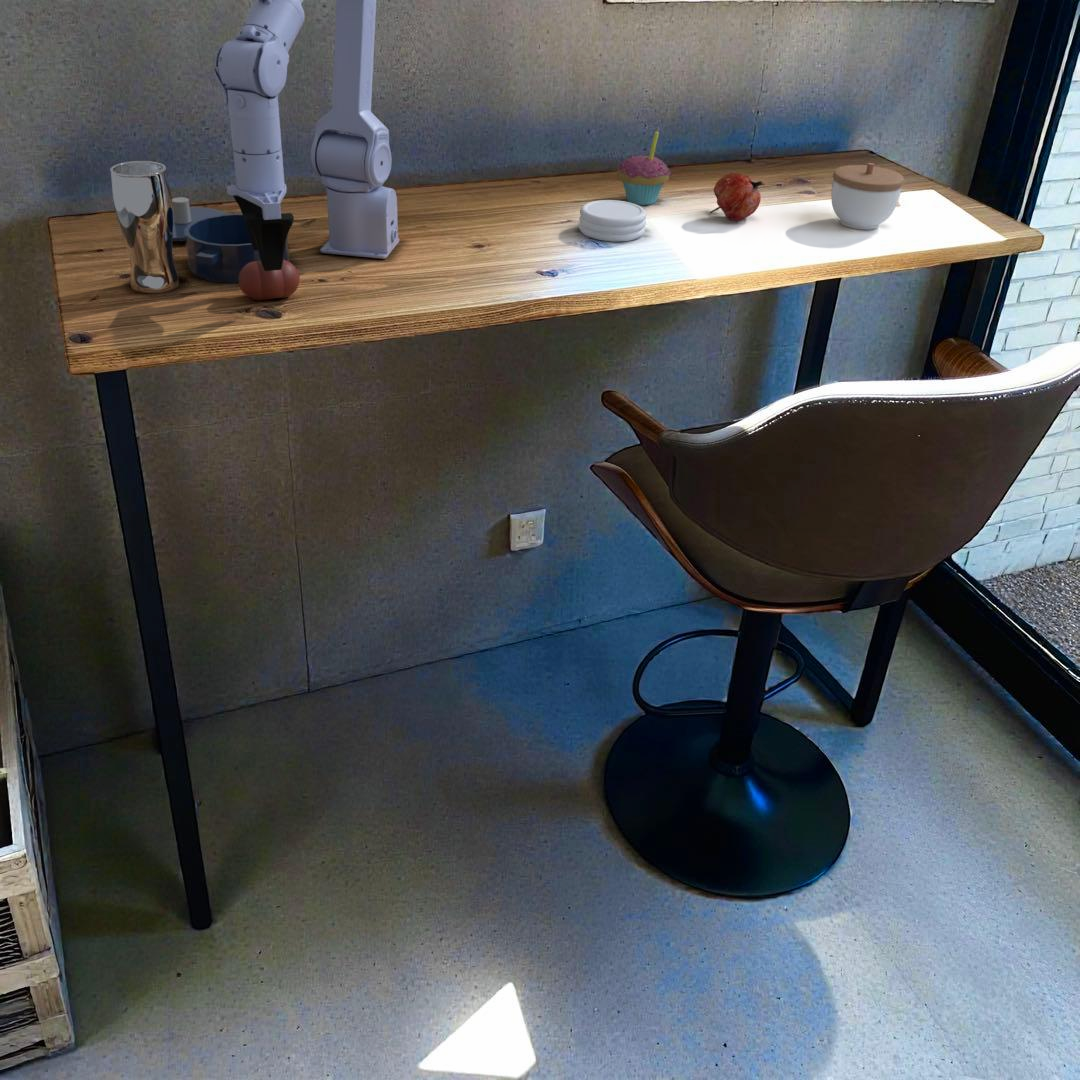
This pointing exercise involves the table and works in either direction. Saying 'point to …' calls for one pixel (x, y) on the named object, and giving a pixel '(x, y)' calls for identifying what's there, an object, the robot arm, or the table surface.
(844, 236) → the table surface
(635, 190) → the cupcake
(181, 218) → the pan lid
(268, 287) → the red ribbed oval
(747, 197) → the pomegranate
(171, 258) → the beer glass
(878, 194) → the lidded sugar bowl
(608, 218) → the coaster
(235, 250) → the pan
